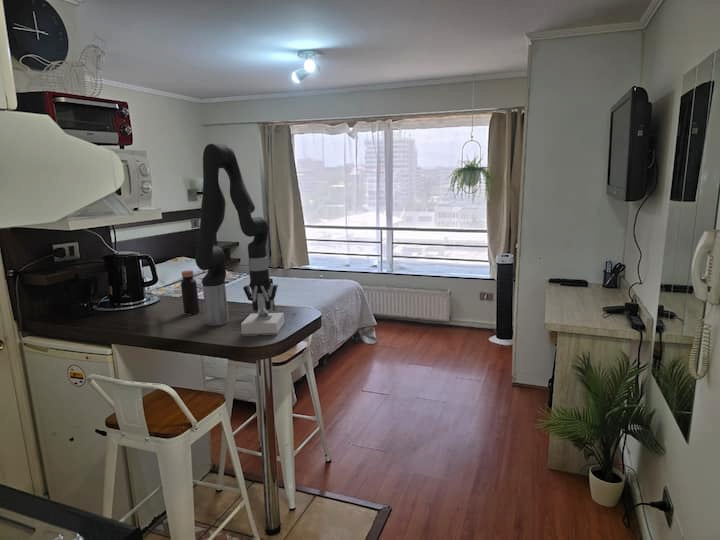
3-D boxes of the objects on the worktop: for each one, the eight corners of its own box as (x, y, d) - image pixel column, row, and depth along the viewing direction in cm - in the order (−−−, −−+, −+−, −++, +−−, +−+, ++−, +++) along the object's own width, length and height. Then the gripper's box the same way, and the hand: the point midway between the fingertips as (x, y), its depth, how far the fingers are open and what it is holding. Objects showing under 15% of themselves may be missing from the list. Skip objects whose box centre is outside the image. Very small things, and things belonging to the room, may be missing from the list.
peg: (257, 318, 185) (254, 293, 183) (259, 315, 189) (257, 291, 187) (266, 317, 185) (264, 293, 183) (269, 314, 189) (267, 290, 187)
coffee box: (276, 313, 211) (273, 278, 208) (264, 316, 206) (261, 281, 203) (264, 309, 217) (261, 276, 214) (252, 313, 213) (249, 278, 209)
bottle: (181, 314, 216) (176, 272, 212) (193, 310, 221) (189, 269, 217) (190, 316, 212) (185, 273, 208) (202, 312, 217) (198, 270, 213)
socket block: (242, 336, 181) (240, 324, 180) (251, 324, 195) (250, 313, 194) (277, 335, 181) (276, 323, 180) (284, 324, 194) (283, 312, 193)
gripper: (238, 270, 180) (242, 313, 183) (274, 269, 179) (278, 312, 182) (243, 267, 187) (247, 308, 190) (278, 265, 186) (282, 306, 189)
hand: (262, 309), depth 186 cm, fingers closed on peg, 4 cm apart
